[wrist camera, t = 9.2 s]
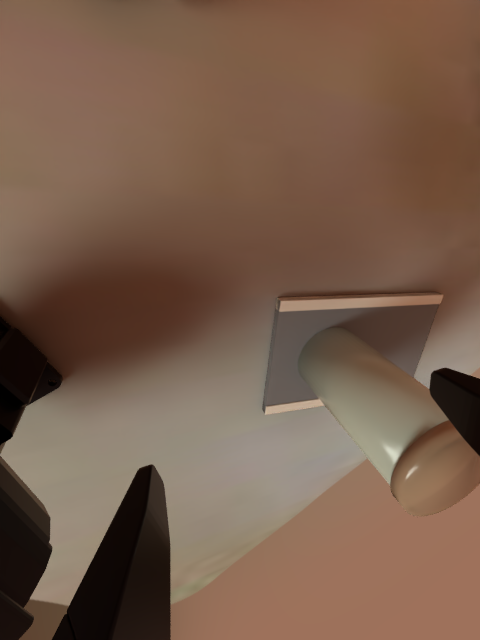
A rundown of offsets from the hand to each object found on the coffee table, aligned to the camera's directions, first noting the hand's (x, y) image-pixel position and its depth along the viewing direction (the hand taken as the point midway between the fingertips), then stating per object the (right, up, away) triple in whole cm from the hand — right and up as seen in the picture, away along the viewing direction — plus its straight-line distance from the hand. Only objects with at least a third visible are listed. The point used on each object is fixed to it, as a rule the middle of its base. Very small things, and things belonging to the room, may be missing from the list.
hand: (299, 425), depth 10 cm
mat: (+8, +1, +17) cm, 19 cm away
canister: (+5, 0, +16) cm, 17 cm away
